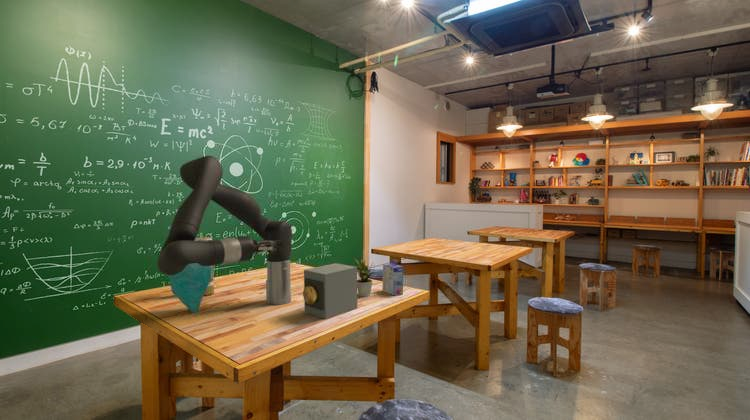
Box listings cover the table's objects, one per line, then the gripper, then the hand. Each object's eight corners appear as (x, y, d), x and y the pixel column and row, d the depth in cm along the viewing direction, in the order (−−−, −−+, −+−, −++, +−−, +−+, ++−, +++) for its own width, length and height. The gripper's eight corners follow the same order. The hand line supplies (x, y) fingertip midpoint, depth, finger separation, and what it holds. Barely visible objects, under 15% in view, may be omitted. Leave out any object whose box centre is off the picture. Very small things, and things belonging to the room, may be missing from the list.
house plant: (338, 294, 162) (338, 257, 161) (363, 288, 171) (362, 253, 170) (359, 301, 151) (359, 261, 150) (384, 294, 160) (384, 257, 159)
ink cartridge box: (404, 294, 161) (403, 261, 160) (393, 296, 158) (392, 262, 157) (392, 289, 169) (392, 257, 169) (382, 290, 167) (381, 259, 166)
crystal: (166, 313, 138) (162, 233, 137) (202, 304, 149) (199, 230, 148) (181, 319, 131) (178, 235, 129) (218, 309, 142) (215, 232, 140)
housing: (325, 319, 130) (325, 274, 129) (304, 312, 138) (303, 269, 137) (357, 308, 142) (356, 267, 141) (336, 302, 150) (335, 263, 149)
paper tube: (200, 292, 167) (198, 237, 165) (216, 292, 167) (214, 237, 166) (194, 296, 160) (192, 239, 159) (210, 296, 160) (208, 239, 159)
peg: (314, 306, 130) (314, 288, 130) (303, 302, 134) (302, 285, 134) (344, 296, 141) (344, 280, 141) (333, 293, 145) (333, 277, 145)
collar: (322, 310, 130) (321, 282, 130) (304, 305, 137) (304, 278, 136) (323, 310, 131) (323, 282, 130) (306, 304, 137) (305, 278, 137)
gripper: (245, 239, 106) (294, 233, 119) (222, 235, 114) (271, 230, 127) (245, 265, 106) (295, 256, 119) (223, 259, 115) (272, 252, 128)
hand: (283, 243), depth 123 cm, fingers closed
